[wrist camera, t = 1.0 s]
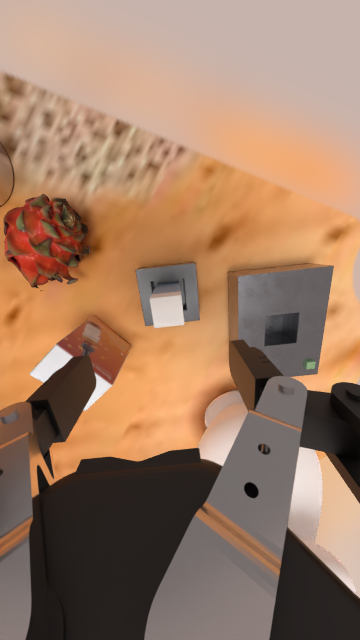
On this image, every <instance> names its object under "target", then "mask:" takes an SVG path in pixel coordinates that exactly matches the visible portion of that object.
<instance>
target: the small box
mask: <svg viewBox="0 0 360 640" xmlns="http://www.w3.org/2000/svg"><path fill="white" fill-rule="evenodd" d="M130 349H131V345H130V344H128V343H127V342H126V341H124V340H123V339H122V338H121V337H119V336H118V335H117V334H116V333H115V332H113V331H112V330H111V329H110V328H109V327H108V326H106V325H105V324H104V323H103V322H102V321H100V320H99V319H98V318H97V317H96V316H92V317H91V318H89V319H88V320H87V321H85V322H84V323H83V324H81V325H80V326H79V327H77V328H76V329H75V330H74V331H72V332H71V333H70V334H68V335H67V336H66V337H65V338H63V339H62V340H61V341H59V342H58V343H57V344H56V345H55V346H54V347H53V348H52V349H51V350H50V351H49V352H48V354H47V355H46V356H45V357H44V358H43V359H42V360H41V361H40V362H39V364H38V365H37V366H36V367H35V368H34V369H33V370H32V371H31V372H30V375H31V376H33V377H34V378H36V379H38V380H40V381H41V382H43V383H44V382H45V381H46V380H48V378H49V377H50V376H51V375H52V374H53V373H54V372H55V371H57V370H59V369H60V368H62V367H63V366H64V365H65V364H66V363H67V362H68V361H69V360H70V359H71V358H72V357H74V356H83V355H88V356H89V357H90V359H91V362H92V366H93V369H94V373H95V376H96V388H95V390H94V392H93V394H92V396H91V397H90V399H89V401H88V403H87V404H86V406H85V408H84V411H86V410H87V409H88V408H89V407H90V406H91V405H92V404H93V403H94V402H96V401H97V400H98V399H99V398H100V397H101V396H102V395H103V394H104V393H105V392H106V391H107V390H108V389H109V388H110V387H111V386H112V385H113V384H114V382H115V380H116V378H117V376H118V374H119V371H120V369H121V367H122V365H123V363H124V361H125V359H126V357H127V355H128V353H129V351H130Z"/></svg>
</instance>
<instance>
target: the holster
mask: <svg viewBox="0 0 360 640" xmlns="http://www.w3.org/2000/svg"><path fill="white" fill-rule="evenodd" d="M136 276H137V281H138V287H139V293H140V298H141V304H142V310H143V316H144V321H145V326H150V325H154V323H153V317H152V311H151V304H150V297H151V295H152V293H153V291H154V289H155V287H156V285H157V283H164V282H173V281H179V284H180V290H181V297H182V306H183V316H184V322H187V321H196V320H200V315H199V302H198V288H197V275H196V263H194V262H190V263H181V264H172V265H163V266H154V267H145V268H139V269H136Z"/></svg>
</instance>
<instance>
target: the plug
mask: <svg viewBox="0 0 360 640" xmlns="http://www.w3.org/2000/svg"><path fill="white" fill-rule="evenodd" d="M150 304H151V311H152V317H153V323H154V328H160V327H169V326H178V325H184V316H183V306H182V297H181V290H180V284H179V281H173V282H164V283H157V285H156V287H155V289H154V291H153V293H152V295H151V297H150Z"/></svg>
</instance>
